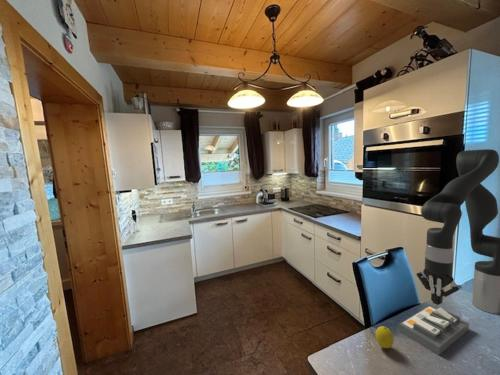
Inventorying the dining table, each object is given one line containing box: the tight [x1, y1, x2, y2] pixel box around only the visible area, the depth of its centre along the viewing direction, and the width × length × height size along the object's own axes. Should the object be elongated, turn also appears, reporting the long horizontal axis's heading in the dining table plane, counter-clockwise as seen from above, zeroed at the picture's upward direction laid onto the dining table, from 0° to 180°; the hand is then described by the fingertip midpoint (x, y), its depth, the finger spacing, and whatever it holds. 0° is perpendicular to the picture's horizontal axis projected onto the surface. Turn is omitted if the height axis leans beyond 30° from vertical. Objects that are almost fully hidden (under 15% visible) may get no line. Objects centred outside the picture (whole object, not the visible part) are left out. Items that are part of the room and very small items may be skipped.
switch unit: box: [398, 304, 470, 356], centre depth 86 cm, size 24×13×5 cm, turn 117°
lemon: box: [375, 325, 394, 349], centre depth 79 cm, size 6×6×8 cm
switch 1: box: [416, 320, 440, 335], centre depth 82 cm, size 4×6×1 cm, turn 27°
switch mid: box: [427, 316, 449, 327], centre depth 85 cm, size 4×6×1 cm, turn 27°
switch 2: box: [435, 306, 457, 323], centre depth 88 cm, size 4×6×1 cm, turn 27°
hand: (436, 303), depth 79 cm, fingers closed
